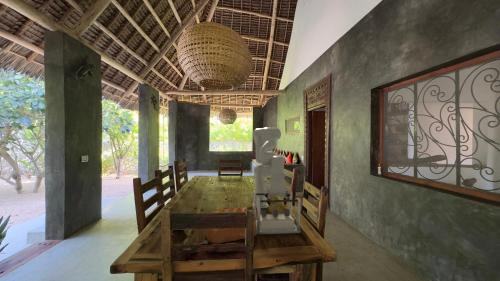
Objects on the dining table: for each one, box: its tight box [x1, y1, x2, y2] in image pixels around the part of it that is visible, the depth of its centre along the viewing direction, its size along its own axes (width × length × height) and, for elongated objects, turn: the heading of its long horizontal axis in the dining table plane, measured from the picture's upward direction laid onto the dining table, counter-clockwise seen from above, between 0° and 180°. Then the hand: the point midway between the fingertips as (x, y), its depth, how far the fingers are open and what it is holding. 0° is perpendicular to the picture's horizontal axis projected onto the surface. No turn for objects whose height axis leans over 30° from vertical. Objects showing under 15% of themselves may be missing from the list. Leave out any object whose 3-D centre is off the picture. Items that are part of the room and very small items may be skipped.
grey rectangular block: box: [260, 209, 268, 217], centre depth 135 cm, size 2×3×4 cm, turn 97°
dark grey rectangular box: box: [272, 209, 279, 217], centre depth 136 cm, size 2×3×4 cm, turn 97°
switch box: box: [260, 213, 295, 230], centre depth 136 cm, size 10×20×6 cm, turn 97°
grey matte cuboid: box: [283, 208, 289, 216], centre depth 137 cm, size 2×3×4 cm, turn 97°
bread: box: [205, 206, 258, 245], centre depth 123 cm, size 14×26×16 cm, turn 113°
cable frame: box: [252, 191, 301, 235], centre depth 135 cm, size 17×25×19 cm
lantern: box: [182, 210, 209, 245], centre depth 122 cm, size 8×17×30 cm
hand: (276, 205), depth 135 cm, fingers open, 9 cm apart
